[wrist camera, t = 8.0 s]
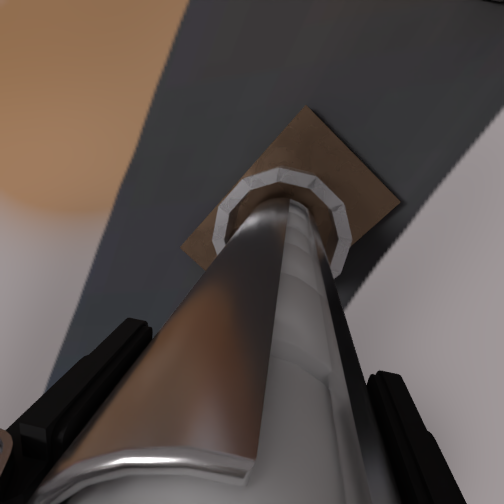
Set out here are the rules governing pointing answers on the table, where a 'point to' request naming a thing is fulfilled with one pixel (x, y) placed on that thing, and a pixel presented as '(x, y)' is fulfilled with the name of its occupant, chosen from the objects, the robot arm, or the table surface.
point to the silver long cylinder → (240, 391)
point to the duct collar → (301, 192)
